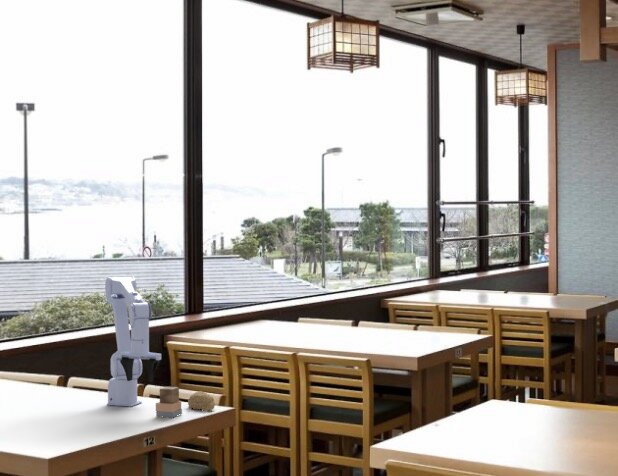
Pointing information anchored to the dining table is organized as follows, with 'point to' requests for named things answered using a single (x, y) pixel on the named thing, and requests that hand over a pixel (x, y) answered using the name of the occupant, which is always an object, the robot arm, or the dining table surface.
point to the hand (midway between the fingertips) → (140, 381)
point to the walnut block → (169, 395)
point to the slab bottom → (168, 413)
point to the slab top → (168, 406)
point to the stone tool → (201, 401)
